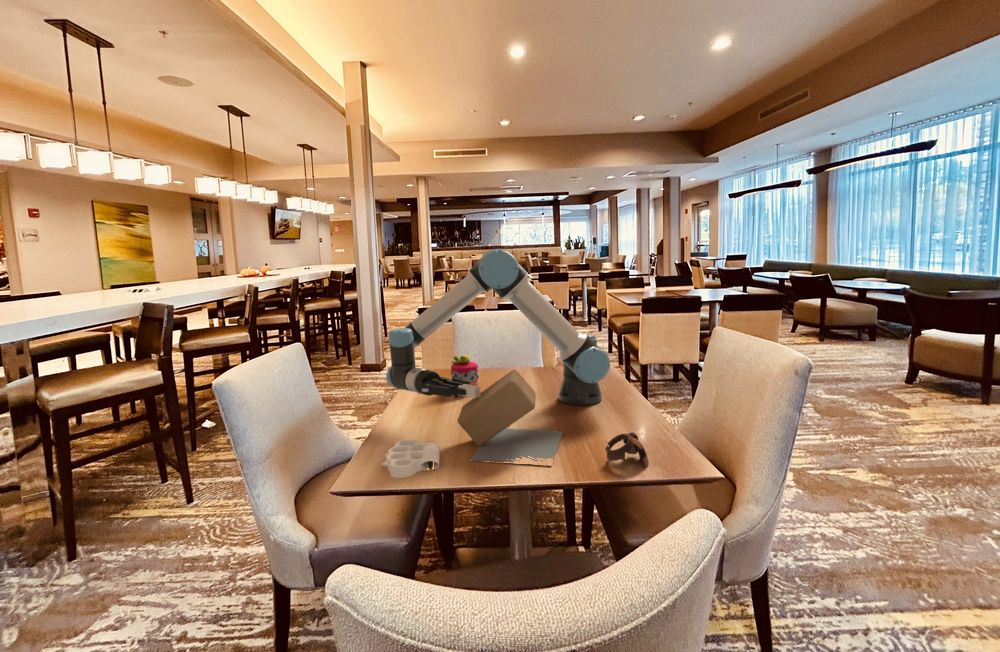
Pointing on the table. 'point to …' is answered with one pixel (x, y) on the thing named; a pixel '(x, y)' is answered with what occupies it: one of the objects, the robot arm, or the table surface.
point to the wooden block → (497, 407)
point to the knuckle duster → (411, 457)
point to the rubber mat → (519, 445)
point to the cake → (465, 370)
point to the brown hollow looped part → (626, 448)
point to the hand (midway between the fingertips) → (477, 392)
